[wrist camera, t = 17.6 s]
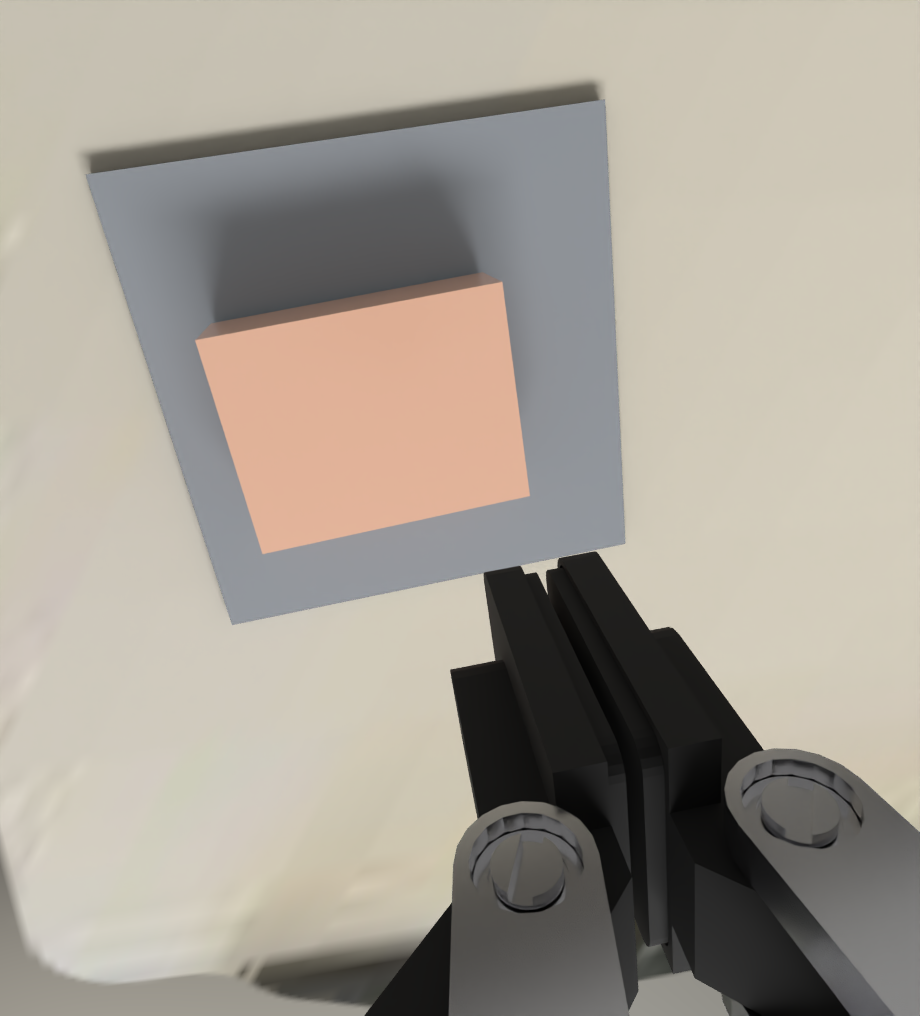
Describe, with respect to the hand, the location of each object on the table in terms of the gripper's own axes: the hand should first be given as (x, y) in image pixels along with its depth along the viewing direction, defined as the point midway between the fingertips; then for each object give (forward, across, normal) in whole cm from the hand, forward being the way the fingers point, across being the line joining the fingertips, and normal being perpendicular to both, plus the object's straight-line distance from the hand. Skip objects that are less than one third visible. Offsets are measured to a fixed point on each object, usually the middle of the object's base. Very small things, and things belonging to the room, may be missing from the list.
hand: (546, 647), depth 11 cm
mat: (+17, +1, 0) cm, 17 cm away
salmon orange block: (+14, -2, 0) cm, 15 cm away
